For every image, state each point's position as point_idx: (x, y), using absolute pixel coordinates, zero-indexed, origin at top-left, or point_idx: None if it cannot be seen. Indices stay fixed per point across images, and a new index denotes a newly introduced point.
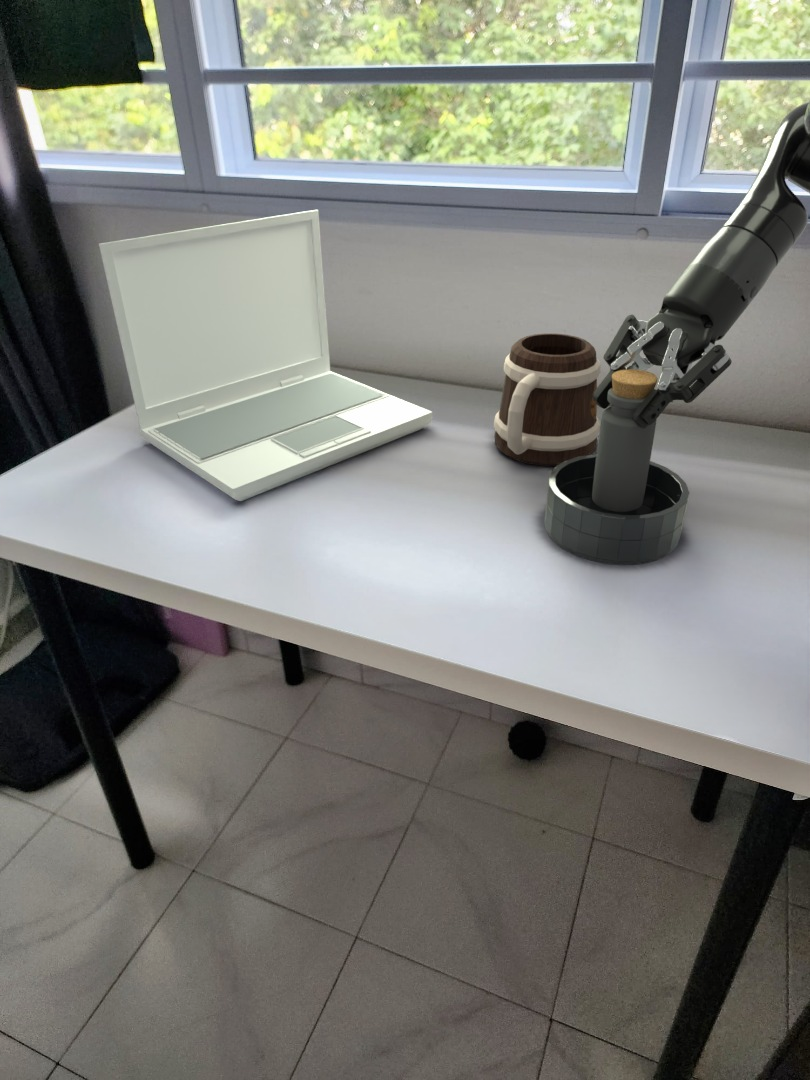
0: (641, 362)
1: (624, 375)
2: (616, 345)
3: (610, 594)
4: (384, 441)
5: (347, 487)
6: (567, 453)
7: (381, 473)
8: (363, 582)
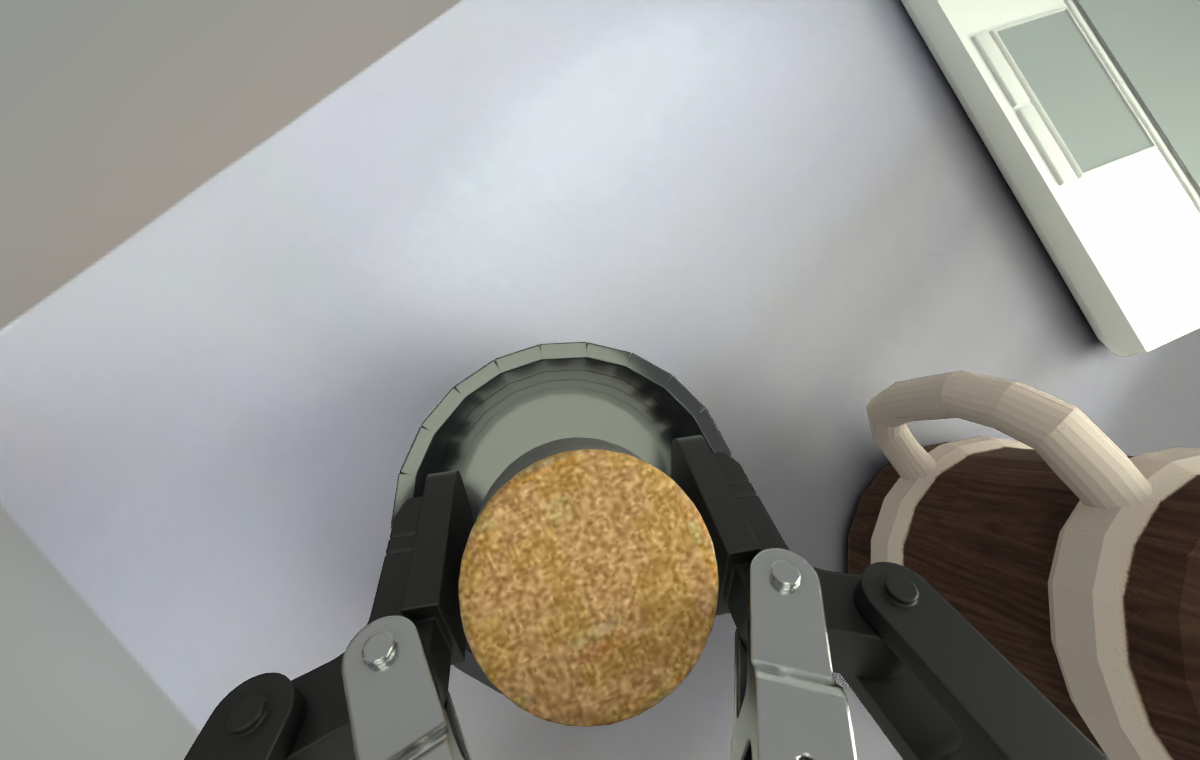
0: (739, 744)
1: (627, 532)
2: (959, 678)
3: (379, 372)
4: (1040, 230)
5: (878, 119)
6: (864, 565)
7: (916, 190)
8: (580, 44)
